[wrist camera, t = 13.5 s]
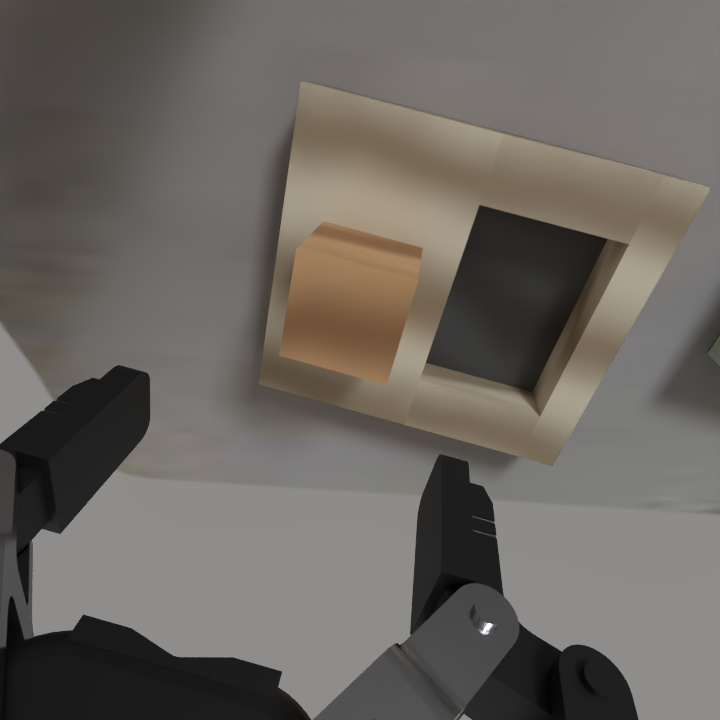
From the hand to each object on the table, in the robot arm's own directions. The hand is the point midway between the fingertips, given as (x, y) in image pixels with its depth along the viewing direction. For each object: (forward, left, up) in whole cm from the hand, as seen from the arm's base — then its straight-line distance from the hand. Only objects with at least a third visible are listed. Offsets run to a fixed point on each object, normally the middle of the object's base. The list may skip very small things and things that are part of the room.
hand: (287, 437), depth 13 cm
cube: (0, 0, -13) cm, 13 cm away
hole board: (0, +5, -16) cm, 17 cm away
